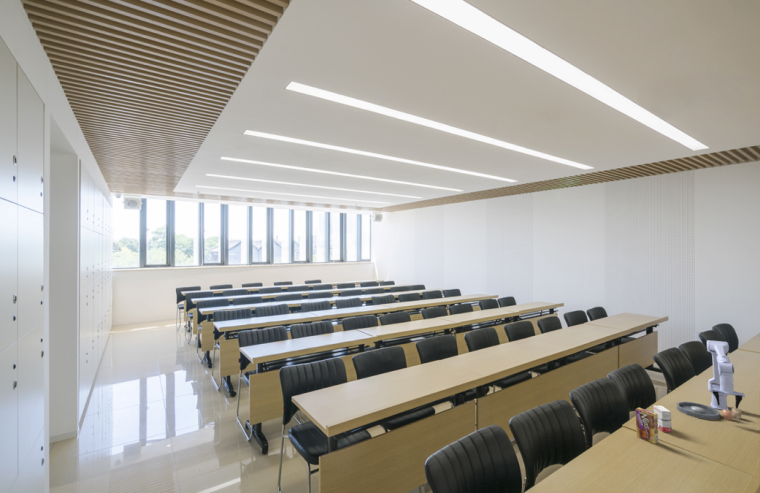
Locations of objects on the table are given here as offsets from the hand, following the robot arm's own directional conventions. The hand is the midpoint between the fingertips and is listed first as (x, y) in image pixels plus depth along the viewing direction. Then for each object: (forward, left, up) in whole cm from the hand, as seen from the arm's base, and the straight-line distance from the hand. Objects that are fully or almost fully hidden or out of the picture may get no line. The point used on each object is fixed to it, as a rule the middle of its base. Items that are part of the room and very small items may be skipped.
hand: (727, 406), depth 205 cm
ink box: (+32, -31, -10) cm, 46 cm away
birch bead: (-12, +5, -10) cm, 16 cm away
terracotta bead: (-7, +1, -10) cm, 12 cm away
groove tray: (-8, -13, -10) cm, 18 cm away
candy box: (+52, -38, -10) cm, 65 cm away
